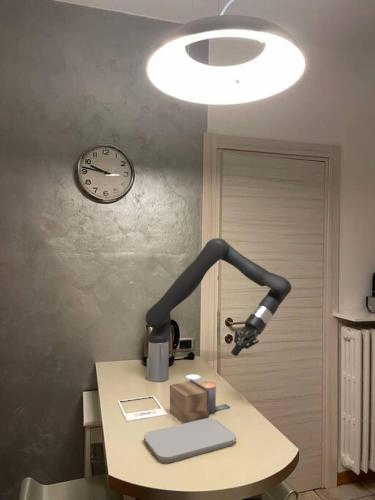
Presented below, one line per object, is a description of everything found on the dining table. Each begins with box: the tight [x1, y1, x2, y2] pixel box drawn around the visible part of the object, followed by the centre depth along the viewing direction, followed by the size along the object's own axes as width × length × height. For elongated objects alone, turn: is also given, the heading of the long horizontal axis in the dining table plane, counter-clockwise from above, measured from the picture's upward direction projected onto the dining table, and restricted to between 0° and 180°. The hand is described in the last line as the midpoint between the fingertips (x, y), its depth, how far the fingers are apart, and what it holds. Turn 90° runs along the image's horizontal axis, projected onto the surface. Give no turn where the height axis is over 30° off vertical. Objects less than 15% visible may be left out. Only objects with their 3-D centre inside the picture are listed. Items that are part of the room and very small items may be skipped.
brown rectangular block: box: [169, 379, 231, 424], centre depth 135 cm, size 21×12×11 cm, turn 119°
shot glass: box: [184, 373, 202, 384], centre depth 153 cm, size 7×7×7 cm
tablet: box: [143, 417, 237, 464], centre depth 114 cm, size 16×26×2 cm, turn 117°
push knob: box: [199, 380, 217, 414], centre depth 136 cm, size 6×6×9 cm
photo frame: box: [117, 395, 168, 423], centre depth 138 cm, size 15×1×18 cm
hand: (233, 354), depth 142 cm, fingers closed
